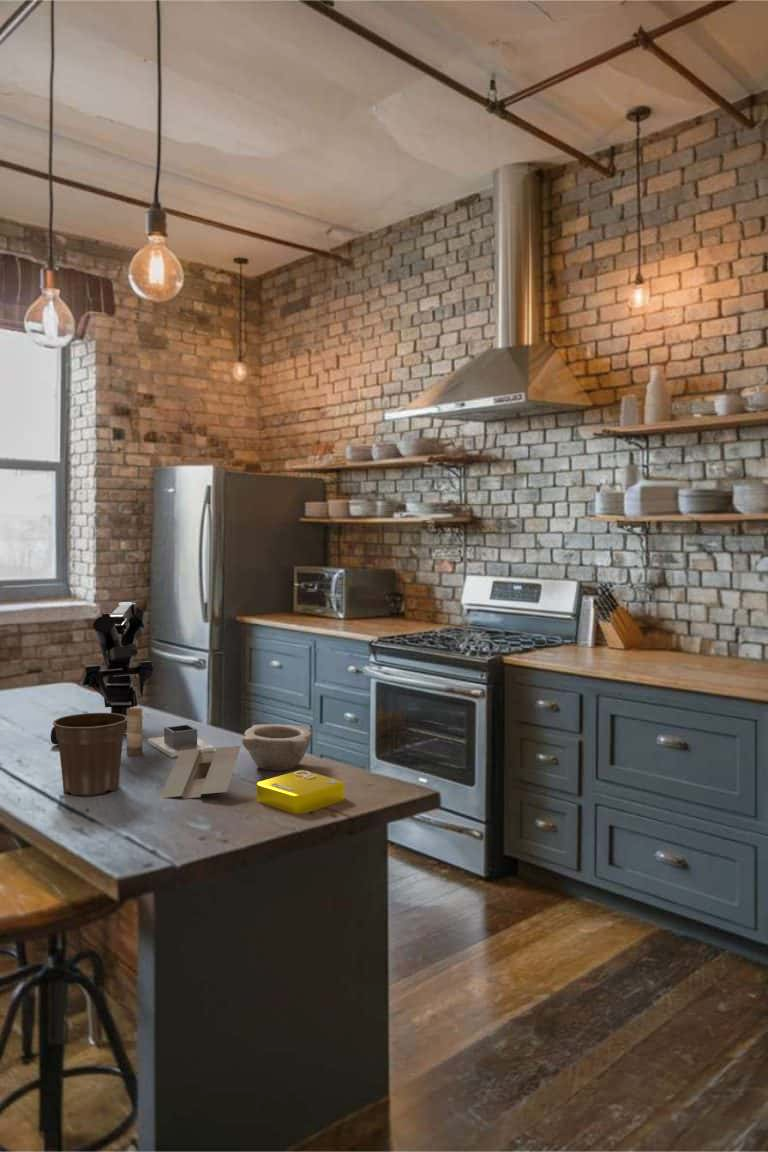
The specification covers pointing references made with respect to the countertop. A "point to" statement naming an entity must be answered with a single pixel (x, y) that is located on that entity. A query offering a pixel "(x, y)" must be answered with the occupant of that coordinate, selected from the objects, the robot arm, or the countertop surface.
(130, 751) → the rail post
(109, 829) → the countertop surface
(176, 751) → the post socket base
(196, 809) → the countertop surface
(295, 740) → the mortar
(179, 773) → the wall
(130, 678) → the robot arm
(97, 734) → the plant pot
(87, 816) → the countertop surface
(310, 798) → the element tile
